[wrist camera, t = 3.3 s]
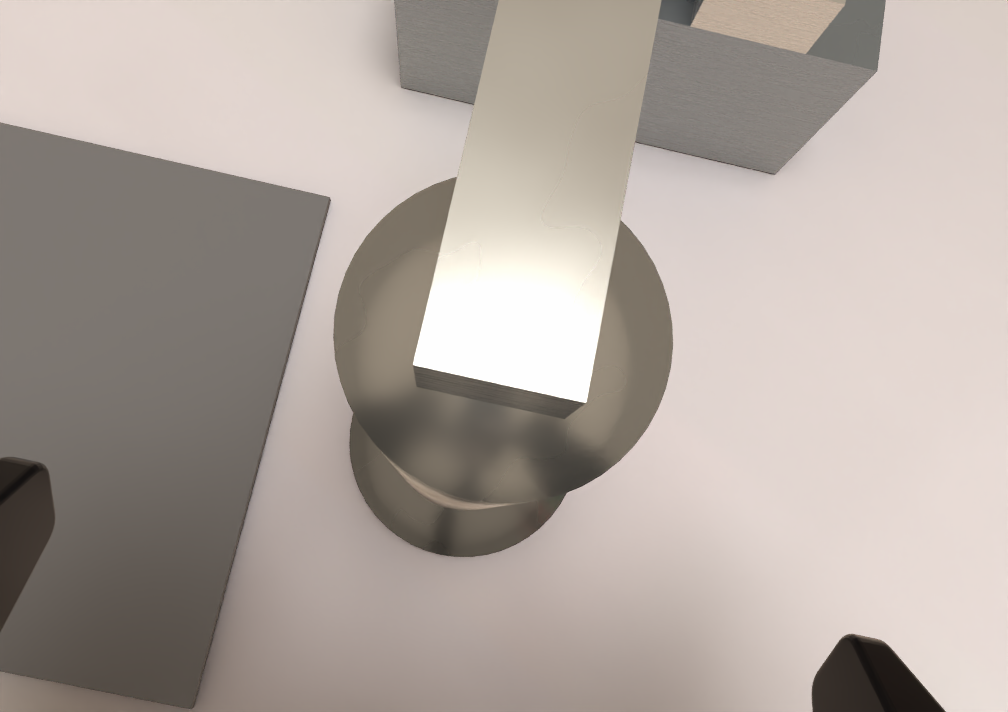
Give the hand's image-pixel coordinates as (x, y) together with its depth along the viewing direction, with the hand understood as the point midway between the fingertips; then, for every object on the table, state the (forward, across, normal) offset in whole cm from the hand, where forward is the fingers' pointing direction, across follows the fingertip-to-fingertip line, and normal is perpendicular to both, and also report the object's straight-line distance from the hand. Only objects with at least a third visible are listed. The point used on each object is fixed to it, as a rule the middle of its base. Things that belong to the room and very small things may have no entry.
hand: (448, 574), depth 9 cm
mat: (+8, +10, +6) cm, 14 cm away
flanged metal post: (+9, 0, +5) cm, 10 cm away
